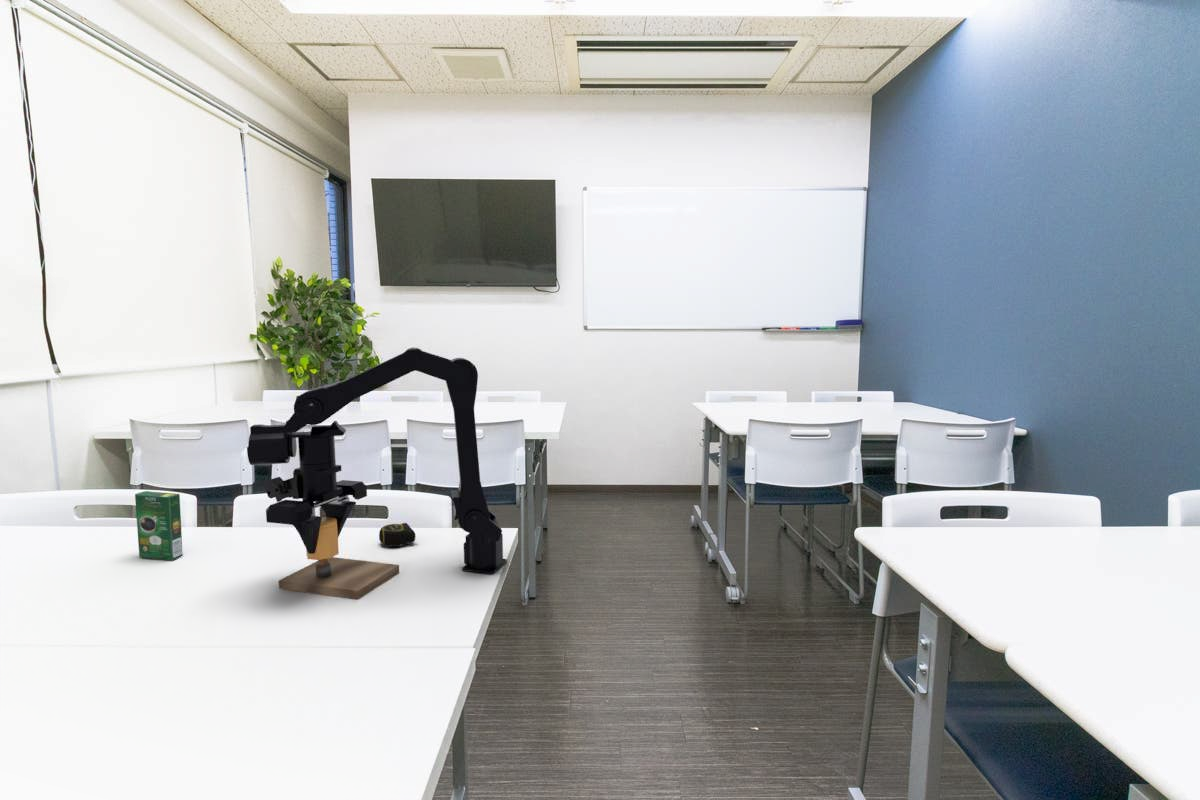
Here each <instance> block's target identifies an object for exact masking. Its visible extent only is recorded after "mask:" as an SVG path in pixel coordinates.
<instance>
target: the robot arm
mask: <svg viewBox="0 0 1200 800" xmlns="http://www.w3.org/2000/svg"><path fill="white" fill-rule="evenodd" d="M415 371H416V372H418V373H419V372H420V373H422V374H424V375H428V376H430V377H433V378H436V379H438V380H439V379H440V380H442V381H445V385H446V388H447V391H448V395H449V398H450V402H451V404H452V405H451V406H452V410H453V418H454V431H455V441H456V452H457V462H458V463H457V465H458V473H459V483H458V488H457V489H458V490H456V489H451V490H450V491H451V498H452V501H453V507H452V514H453V519H454V521H456V520H458V521H457V522H458V525H459V526H460V529H462V530H463V531H464V532H466V533H468V534H466V535H465V542H464V543H463V563H464V564H465V565H463V566H462V567H461V571H465V572H472V573H473V572H474V573H481V574H483V573H484V574H489V575H490V574H495V573H496V572H497V571H498V570H499V569H501V567H503V566H505V564H507V563H508V562H507V561H508V560H507V559H506V558H504V548H503V547H504V543H503V541H504V540H503V539H504V538H503V533H502V532H503V530H502V528H501V525H500V523H499V520H498V518H497V516H496V515H495V514H493V513H492V512H491V511H490V510H489V507H488V503H487V499H486V496H485V493H484V489H483V486H482V483H481V476H480V475H481V474H480V462H479V452H478V441H477V427H476V415H475V404H476V399H477V398H476V397H477V389H478V379H479V372H478V369H477V367H476V365H475V364H473V363H472V362H471V361H470V360H469V359H466V358H464V357H455V358H452V359H450V358H449V359H448V358H446V357H443V356H440V355H437V354H433V353H430V352H426V351H424V350H422V349H420V347H410V348H407V349H406V350H404V352H401V353H400V354H398V355H395V356H394V357H391V358H389V359H387V360H386V361H383V362H381V363H379V364H377V365H375V366H373V367H370V368H368V369H366V370H364V371H362V372H360V373H358V374H356V375H353V376H351V377H349V378H347V379H344V380H341V381H337V382H332V383H329V384H326V385H321V386H319V387H314V388H311V389H308V390H307V391H305V392H303V393H301V394H300V395H298V396H297V398H296V399H295V401H294V405H293V414H292V415H291V416H290V418H289V419H287V420H286V421H285V424H267V425H266V424H253V425H251V426H250V427H249V429H250V434H249V437H248V446H247V447H246V455H247V459H248V463H249V464H250V465H251V466H261V465H262V466H263V465H278V464H279V465H280V464H281V465H282V464H289V463H290V459H291V458H295V457H296V455H297V447H298V457H299V458H298V460H299V467H298V468H294V469H293V471H292V474H293V475H292V476H293V477H290V478H288V479H284V480H283V479H282V477H280V476H276V477H273V478H270V479H268V480H265V492H266V494H267V495H266V496H267V498H269V499H274V498H275V500H276V502H275V503H272V504H270V505H268V507H267V508H266V509H265V516H266V518H265V519H266V523H270V524H282V525H292V526H293V527H294V528H295V530H296V532H297V534H298V535H299V537H300V539H301V541H302V543H303V546H304V547H305V549H307V551H308V553H310V554H314V553H315V550H316V547H317V541H318V536H319V530H320V524H321V518H323V516H321V515H320V516H319V515H316V508H319V507H320V508H321V509H322V511H324V513H325V517H332V518H336V519H337V530H338V538H339V537H340V534H341V532H342V530H343V528H344V525H345V523H346V521H347V519H348V517H349V515H350V513H351V512H352V510H353V508H354V507H355V506H356V505H357V502H356V501H352V500H351V501H350V497H349V496H352V498H353V499H355V500H361V499H363V498H366V497H367V496H368V489H367V487H368V486H367V485H366V484H364V481H359V480H346V479H345V480H344V479H342V480H338V481H337V473H338V472H341V471H342V465H341V464H336V462H337V461H336V444H335V437H339V436H340V437H343V436H344V435H345V433H346V432H347V429H346V428H345V427H343V426H341V425H340V424H339V422H338V420H334V421H333V422H332V423H331V424H330V425H319V424H322V423H323V422H325V421H326V420H328V419H329V418H331V417H333V415H336V413H338V412H339V411H341V410H342V409H343V408H344V407H346V406H347V405H348V404H350V403H351V402H353V401H355V400H356V399H358V398H360V397H362V396H364V395H366V394H368V393H370V392H372V391H374V390H377V389H379V388H381V387H383V386H385V385H387V384H389V383H391V382H394V381H395V380H398V379H400V378H402V377H403V376H406V375H407V374H410V373H412V372H415ZM308 425H310V426H312V427H311V429H310V430H309V431H308V430H307V431H299V430H302V429H303V428H304V427H306V426H308ZM297 438H298V439H297ZM297 440H298V444H297ZM297 445H298V446H297ZM287 498H289V499H287ZM291 498H292V499H293V500H292V499H291ZM299 499H302V500H299Z"/></svg>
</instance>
